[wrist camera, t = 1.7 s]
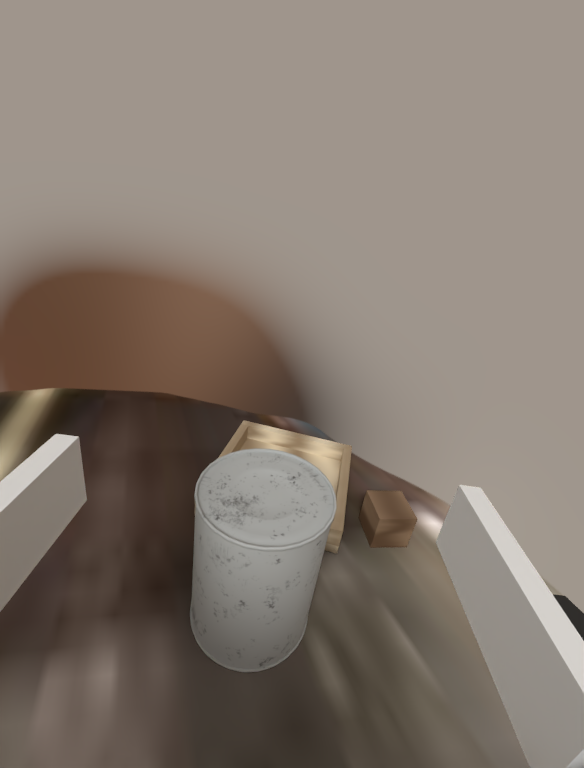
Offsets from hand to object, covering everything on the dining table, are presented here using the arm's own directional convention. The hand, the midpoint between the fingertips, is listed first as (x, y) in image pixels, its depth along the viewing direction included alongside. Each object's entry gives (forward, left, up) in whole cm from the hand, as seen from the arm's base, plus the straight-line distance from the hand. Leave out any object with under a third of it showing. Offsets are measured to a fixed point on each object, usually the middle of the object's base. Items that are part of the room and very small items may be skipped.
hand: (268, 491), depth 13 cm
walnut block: (+9, +21, -20) cm, 31 cm away
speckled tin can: (-2, +9, -21) cm, 23 cm away
